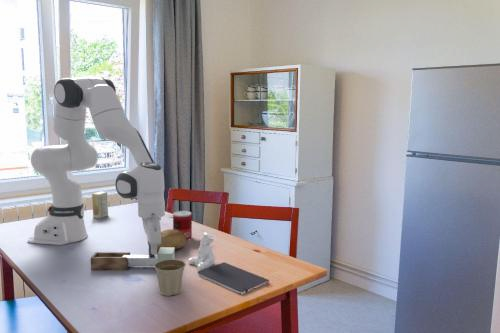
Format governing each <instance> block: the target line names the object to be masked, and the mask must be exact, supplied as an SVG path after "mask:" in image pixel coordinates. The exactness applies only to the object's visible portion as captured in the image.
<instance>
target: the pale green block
mask: <svg viewBox="0 0 500 333" xmlns="http://www.w3.org/2000/svg"><path fill="white" fill-rule="evenodd" d="M156 255H157V262H159V261H162V260H168V259H176V249H175V247H160V249H159V251H158V253H157V254H156Z"/></svg>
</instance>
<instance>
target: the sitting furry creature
mask: <svg viewBox="0 0 500 333" xmlns="http://www.w3.org/2000/svg"><path fill="white" fill-rule="evenodd" d="M213 242H214V238H213V236H212V234H210V233H208V232H204V233H202V236H201V238H200V242H199V244H200V245H199V248H198V249H197V250H198V254H197V256H191V257H189V258H188V264H189V265H195V266H196V271H197V272H198V271H201V270H203V269H206V268H209V267H212V266H214V264H215V262H216V260H217V258H216V255H215V254H214V252H213V249H212V247H211V244H212V243H213Z"/></svg>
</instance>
